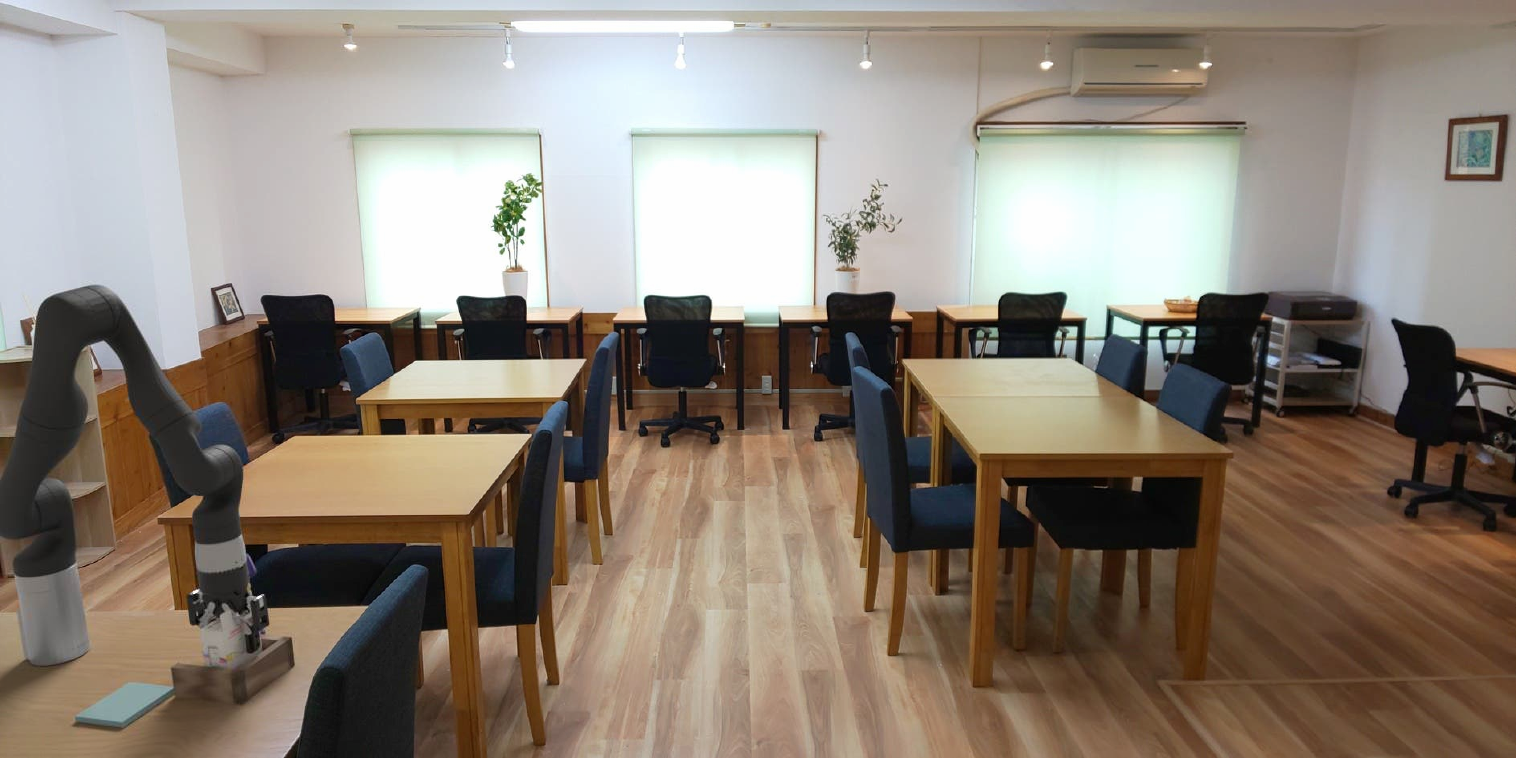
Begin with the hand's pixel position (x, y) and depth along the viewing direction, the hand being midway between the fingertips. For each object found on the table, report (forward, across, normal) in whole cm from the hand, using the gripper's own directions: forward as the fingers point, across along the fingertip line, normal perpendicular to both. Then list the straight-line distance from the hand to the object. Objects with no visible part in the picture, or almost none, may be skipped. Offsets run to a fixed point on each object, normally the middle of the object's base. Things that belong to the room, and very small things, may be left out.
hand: (232, 649), depth 169 cm
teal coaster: (+6, -12, -11) cm, 17 cm away
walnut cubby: (+6, 0, 0) cm, 6 cm away
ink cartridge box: (+6, 0, 0) cm, 6 cm away
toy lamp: (+6, -9, +15) cm, 19 cm away
